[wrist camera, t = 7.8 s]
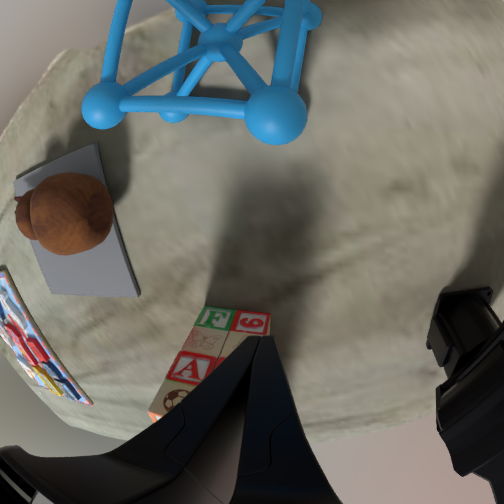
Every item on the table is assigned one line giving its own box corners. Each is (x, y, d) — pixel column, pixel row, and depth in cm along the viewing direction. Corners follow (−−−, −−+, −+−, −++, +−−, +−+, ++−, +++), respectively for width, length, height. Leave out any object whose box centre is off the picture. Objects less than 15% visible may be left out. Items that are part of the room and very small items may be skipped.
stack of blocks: (263, 427, 34) (246, 504, 23) (219, 420, 35) (195, 493, 24) (271, 311, 24) (244, 437, 13) (202, 303, 25) (144, 413, 14)
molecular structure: (323, 11, 13) (334, -68, 4) (302, 139, 18) (301, 153, 9) (185, 4, 14) (110, -50, 5) (165, 121, 19) (69, 132, 10)
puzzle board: (-25, 277, 37) (-32, 283, 35) (9, 266, 31) (-2, 274, 29) (41, 383, 49) (35, 390, 46) (96, 402, 43) (90, 411, 40)
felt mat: (96, 142, 20) (93, 142, 19) (140, 294, 26) (138, 297, 26) (15, 180, 23) (13, 181, 23) (53, 291, 29) (51, 293, 29)
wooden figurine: (117, 161, 20) (27, 178, 23) (64, 176, 15) (-12, 193, 18) (128, 240, 22) (37, 234, 26) (84, 271, 17) (2, 254, 21)
